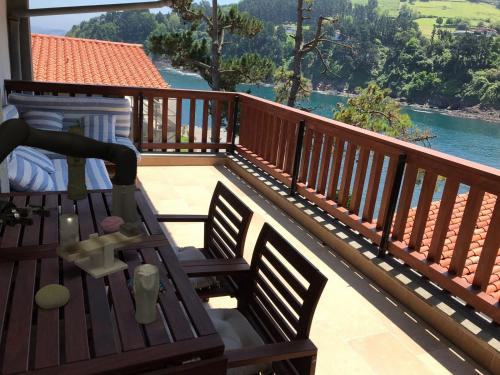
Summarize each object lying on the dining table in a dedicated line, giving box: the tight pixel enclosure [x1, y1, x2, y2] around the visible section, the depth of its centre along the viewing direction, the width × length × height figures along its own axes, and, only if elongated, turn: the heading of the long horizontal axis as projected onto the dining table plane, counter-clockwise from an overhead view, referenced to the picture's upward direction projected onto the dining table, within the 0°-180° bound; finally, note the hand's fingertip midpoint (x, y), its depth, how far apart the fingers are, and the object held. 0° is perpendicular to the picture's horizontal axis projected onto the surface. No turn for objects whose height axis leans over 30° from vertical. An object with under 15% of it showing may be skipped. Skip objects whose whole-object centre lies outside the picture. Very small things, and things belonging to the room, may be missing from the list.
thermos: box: [65, 125, 88, 202], centre depth 216 cm, size 9×12×35 cm
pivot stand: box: [74, 232, 129, 279], centre depth 153 cm, size 12×14×10 cm
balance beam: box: [55, 222, 143, 263], centre depth 152 cm, size 27×8×5 cm, turn 138°
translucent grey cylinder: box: [58, 213, 80, 253], centre depth 142 cm, size 6×6×11 cm
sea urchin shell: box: [34, 283, 71, 310], centre depth 130 cm, size 9×8×8 cm
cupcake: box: [100, 216, 124, 236], centre depth 173 cm, size 9×9×10 cm
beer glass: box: [133, 263, 160, 325], centre depth 124 cm, size 7×7×15 cm
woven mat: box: [125, 277, 167, 299], centre depth 142 cm, size 10×11×2 cm
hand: (41, 218), depth 143 cm, fingers open, 8 cm apart
